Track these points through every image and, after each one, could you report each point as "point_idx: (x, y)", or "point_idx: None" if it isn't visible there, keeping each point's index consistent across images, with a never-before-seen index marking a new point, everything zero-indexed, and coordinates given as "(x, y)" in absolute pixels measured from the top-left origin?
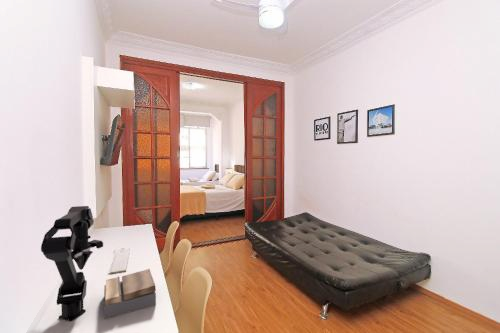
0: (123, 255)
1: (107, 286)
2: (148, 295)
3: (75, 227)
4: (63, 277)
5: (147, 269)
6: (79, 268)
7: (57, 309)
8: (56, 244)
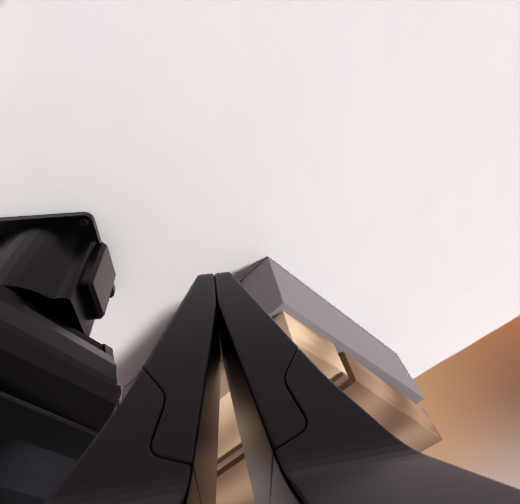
0: None
1: (222, 407)
2: None
3: None
4: None
5: (435, 437)
6: (194, 292)
7: (13, 109)
8: None
